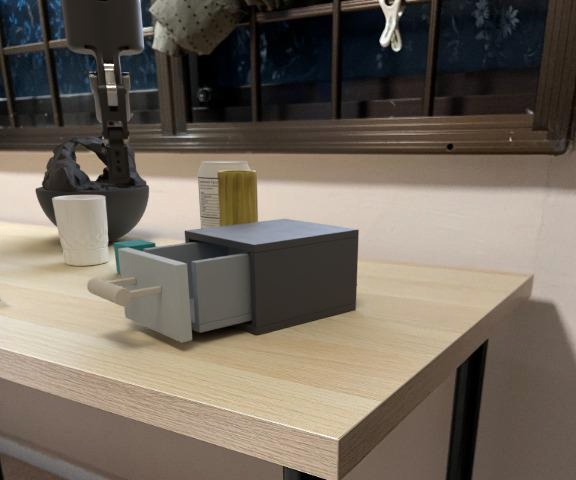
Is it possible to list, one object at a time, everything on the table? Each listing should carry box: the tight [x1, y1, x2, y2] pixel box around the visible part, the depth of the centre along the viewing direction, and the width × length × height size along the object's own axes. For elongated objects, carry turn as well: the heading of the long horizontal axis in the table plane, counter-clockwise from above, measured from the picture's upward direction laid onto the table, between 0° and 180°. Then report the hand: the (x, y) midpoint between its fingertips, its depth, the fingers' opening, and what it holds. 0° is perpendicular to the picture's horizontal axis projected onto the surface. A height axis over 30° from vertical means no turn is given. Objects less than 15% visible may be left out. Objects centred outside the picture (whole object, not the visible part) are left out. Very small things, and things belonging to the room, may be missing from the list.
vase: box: [217, 169, 259, 226], centre depth 85 cm, size 6×6×14 cm
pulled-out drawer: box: [86, 241, 252, 344], centre depth 62 cm, size 18×11×7 cm, turn 131°
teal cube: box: [113, 239, 157, 275], centre depth 89 cm, size 4×4×4 cm
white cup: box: [52, 195, 110, 267], centre depth 96 cm, size 8×8×10 cm
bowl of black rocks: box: [34, 134, 150, 242], centre depth 112 cm, size 20×20×19 cm
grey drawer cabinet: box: [184, 218, 360, 336], centre depth 69 cm, size 15×13×9 cm
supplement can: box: [197, 160, 251, 229], centre depth 94 cm, size 8×8×15 cm
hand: (120, 182), depth 66 cm, fingers closed
